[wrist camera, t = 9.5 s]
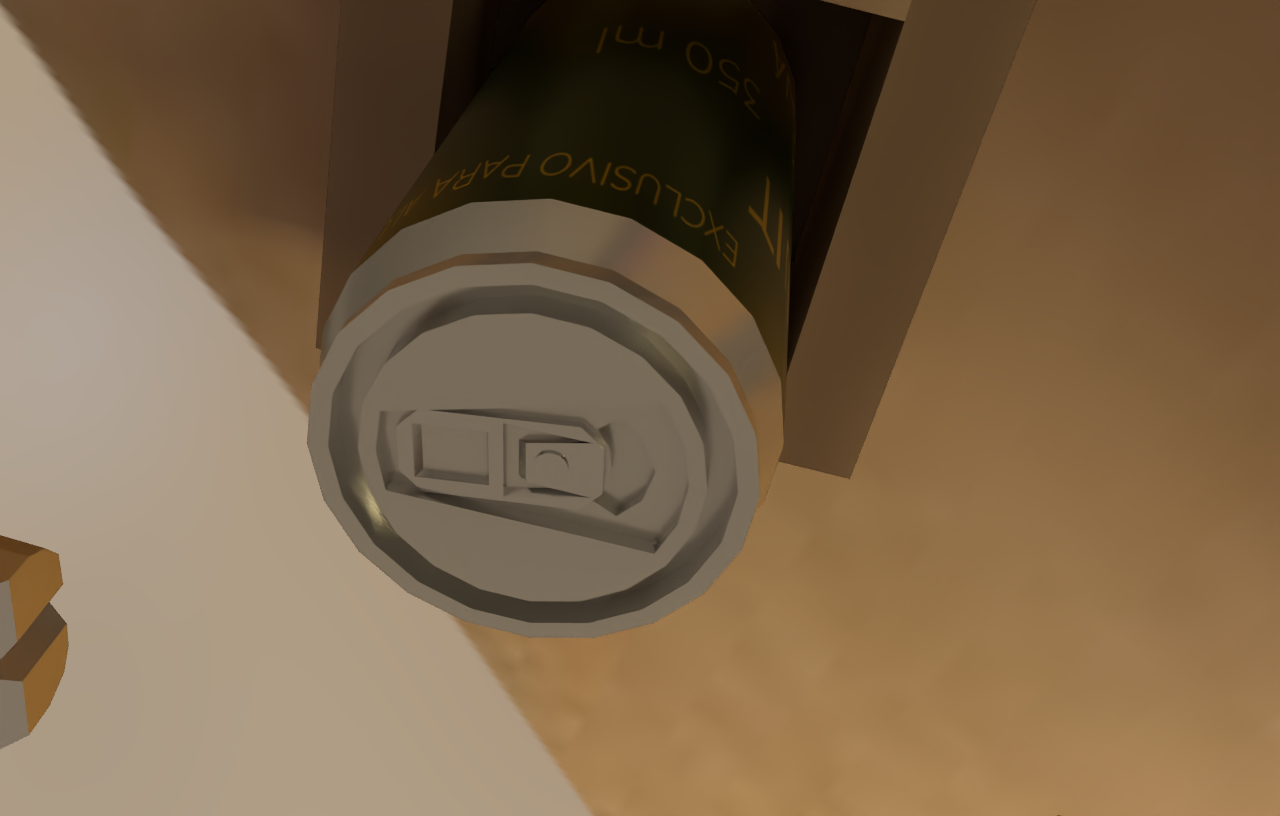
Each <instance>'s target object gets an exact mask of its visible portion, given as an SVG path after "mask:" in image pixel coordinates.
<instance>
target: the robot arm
mask: <svg viewBox="0 0 1280 816" xmlns="http://www.w3.org/2000/svg"><path fill="white" fill-rule="evenodd" d="M62 585H63V581H62V574H61V567H60V561H59V555H58V554H57V553H54V552H52V551H50V550H48V549H45V548H42V547H39V546H35V545H31V544H28V543H25V542H21V541H18V540H15V539H11V538H8V537H4V536H1V535H0V749H1V748H3V747H5V746H8V745H9V744H12V743H14V742H16V741H18V740H20V739H22V738H24V737H26V736H28V735H29V734H30V733H31V731H32V730H33V729H34V727H35V726H36V724H37V723H38V722H39V720H40V719H41V717H42V716H43V715H44V713H45V712H46V710H47V709H48V707H49V706H50V704H51V701H52V699H53V697H54V694H55V692H56V690H57V687H58V685H59V683H60V680H61V678H62V676H63V673H64V669H65V664H66V658H67V651H68V634H67V633H68V632H67V623H66V622H65V621H64V620H63V618H61V616H60V615H59V614H58V612H57V611H56V610H55V609H54V607H53V606H52V605H51V604H50V602H49V601H50V600H51V599H52V598H53V596H54V595H55V594H56V593H57V591H58V590H59V589H60V587H61V586H62ZM1058 816H1060V815H1058Z"/></svg>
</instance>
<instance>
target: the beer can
mask: <svg viewBox="0 0 1280 816" xmlns="http://www.w3.org/2000/svg"><path fill="white" fill-rule="evenodd" d="M795 138H796V111H795V82H794V77H793V75H792V72H791V69H790V67H789V64H788V61H787V59H786V56H785V53H784V51H783V48H782V45H781V43H780V40H779V37H778V35H777V34H776V33H775V31H774V30H773V29H772V28H771V27H770V25H769V24H768V23H767V22H766V20H765V19H764V18H763V17H762V15H761V14H760V13H759V12H758V10H757V9H756V8H755V7H754V6H753V4H752V3H751V2H750V1H749V0H547V1H546V2H545V3H544V4H542V5H541V6H540V7H539V8H538V9H537V10H536V11H535V12H534V13H533V14H532V15H531V17H530V18H529V20H528V21H527V22H526V24H525V25H524V27H523V28H522V30H521V31H520V33H519V34H518V35H517V37H516V38H515V40H514V41H513V43H512V44H511V45H510V47H509V48H508V50H507V51H506V53H505V54H504V55H503V57H502V58H501V60H500V61H499V63H498V64H497V65H496V67H495V68H494V70H493V71H492V73H491V74H490V75H489V77H488V78H487V80H486V81H485V83H484V84H483V85H482V87H481V88H480V90H479V91H478V93H477V94H476V95H475V97H474V98H473V100H472V101H471V103H470V104H469V106H468V107H467V108H466V110H465V111H464V113H463V114H462V116H461V117H460V118H459V120H458V121H457V123H456V124H455V126H454V127H453V128H452V130H451V131H450V133H449V134H448V136H447V137H446V138H445V140H444V141H443V143H442V144H441V146H440V147H439V148H438V150H437V151H436V153H435V154H434V156H433V157H432V158H431V160H430V161H429V163H428V164H427V166H426V167H425V168H424V170H423V171H422V173H421V174H420V176H419V177H418V179H417V180H416V181H415V183H414V184H413V186H412V187H411V189H410V190H409V191H408V193H407V194H406V196H405V197H404V199H403V200H402V201H401V203H400V204H399V206H398V207H397V209H396V210H395V211H394V213H393V214H392V216H391V217H390V219H389V220H388V221H387V223H386V224H385V226H384V227H383V229H382V230H381V231H380V233H379V234H378V236H377V237H376V239H375V240H374V242H373V243H372V244H371V246H370V247H369V249H368V250H367V252H366V253H365V254H364V256H363V257H362V259H361V260H360V262H359V263H358V264H357V266H356V267H355V269H354V270H353V272H352V273H351V275H350V277H349V279H348V281H347V283H346V285H345V287H344V289H343V291H342V293H341V295H340V297H339V299H338V301H337V303H336V305H335V307H334V308H333V310H332V312H331V314H330V316H329V318H328V320H327V322H326V324H325V326H324V328H323V330H322V343H321V356H320V369H319V372H318V374H317V375H316V377H315V379H314V381H313V383H312V385H311V397H310V410H309V424H308V437H307V445H308V448H309V451H310V455H311V458H312V462H313V465H314V469H315V472H316V475H317V478H318V482H319V485H320V489H321V492H322V495H323V498H324V501H325V502H326V504H327V505H328V507H329V508H330V510H331V511H332V512H333V514H334V516H335V517H336V518H337V520H338V521H339V523H340V524H341V526H342V527H343V529H344V530H345V532H346V533H347V535H348V536H349V537H350V539H351V540H352V542H353V543H354V545H355V546H356V548H357V549H358V551H359V552H361V553H362V554H363V555H364V556H365V557H366V558H367V559H369V560H370V561H371V562H372V563H373V564H375V565H376V566H377V567H378V568H379V569H380V570H382V571H383V572H384V573H385V574H386V575H387V576H389V577H390V578H391V579H392V580H393V581H395V582H396V583H397V584H398V585H399V586H400V587H402V588H403V589H404V590H405V591H406V592H408V593H409V594H411V595H413V596H415V597H418V598H419V599H422V600H423V601H425V602H428V603H429V604H431V605H433V606H435V607H437V608H439V609H441V610H443V611H445V612H447V613H449V614H451V615H453V616H455V617H457V618H459V619H461V620H463V621H465V622H469V623H473V624H477V625H481V626H485V627H489V628H493V629H497V630H501V631H506V632H510V633H514V634H518V635H522V636H526V637H554V638H595V637H599V636H603V635H607V634H611V633H615V632H619V631H623V630H627V629H631V628H635V627H639V626H643V625H647V624H652V623H654V622H656V621H658V620H659V619H661V618H663V617H665V616H666V615H668V614H670V613H671V612H673V611H675V610H677V609H678V608H680V607H682V606H683V605H685V604H687V603H689V602H690V601H692V600H694V599H695V598H697V597H699V596H701V595H702V594H704V593H705V592H706V591H707V590H708V588H709V587H710V586H711V585H712V584H713V583H714V581H715V580H716V579H717V578H718V577H719V576H720V574H721V573H722V572H723V571H724V570H725V569H726V567H727V566H728V565H729V564H730V563H731V562H732V560H733V559H734V558H735V557H736V556H737V555H738V553H739V552H740V551H741V550H742V547H743V544H744V541H745V538H746V535H747V532H748V529H749V526H750V524H751V521H752V518H753V515H754V513H755V512H756V511H757V509H758V508H759V507H760V506H761V505H762V503H763V502H764V500H765V497H766V494H767V492H768V489H769V486H770V483H771V480H772V477H773V474H774V471H775V469H776V466H777V463H778V460H779V457H780V454H781V451H782V448H783V446H784V428H785V401H786V375H787V349H788V322H789V296H790V270H791V243H792V217H793V191H794V164H795Z"/></svg>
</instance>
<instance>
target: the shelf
mask: <svg viewBox="0 0 1280 816" xmlns="http://www.w3.org/2000/svg"><path fill="white" fill-rule="evenodd" d="M499 1H500V0H341V11H340V25H339V39H338V52H337V66H336V80H335V93H334V107H333V121H332V134H331V148H330V162H329V175H328V189H327V203H326V216H325V230H324V244H323V257H322V271H321V285H320V298H319V312H318V326H317V339H316V348H318V349H321V343H322V330H323V328H324V326H325V324H326V322H327V320H328V318H329V316H330V314H331V312H332V310H333V308H334V307H335V305H336V303H337V301H338V299H339V297H340V295H341V293H342V291H343V289H344V287H345V285H346V283H347V281H348V279H349V277H350V275H351V273H352V272H353V270H354V269H355V267H356V266H357V264H358V263H359V262H360V260H361V259H362V257H363V256H364V254H365V253H366V252H367V250H368V249H369V247H370V246H371V244H372V243H373V242H374V240H375V239H376V237H377V236H378V234H379V233H380V231H381V230H382V229H383V227H384V226H385V224H386V223H387V221H388V220H389V219H390V217H391V216H392V214H393V213H394V211H395V210H396V209H397V207H398V206H399V204H400V203H401V201H402V200H403V199H404V197H405V196H406V194H407V193H408V191H409V190H410V189H411V187H412V186H413V184H414V183H415V181H416V180H417V179H418V177H419V176H420V174H421V173H422V171H423V170H424V168H425V167H426V166H427V164H428V163H429V161H430V160H431V158H432V157H433V156H434V154H435V153H436V151H437V150H438V148H439V147H440V146H441V144H442V143H443V141H444V140H445V138H446V137H447V136H448V134H449V133H450V131H451V130H452V128H453V127H454V126H455V124H456V123H457V121H458V120H459V118H460V117H461V116H462V114H463V113H464V111H465V110H466V108H467V107H468V106H469V104H470V103H471V101H472V100H473V98H474V97H475V95H476V94H477V93H478V91H479V90H480V88H481V87H482V85H483V84H484V83H485V81H486V80H487V78H488V77H489V70H490V63H491V56H492V49H493V43H494V36H495V29H496V22H497V15H498V8H499ZM822 1H826V2H830V3H834V4H838V5H842V6H846V7H850V8H854V9H858V10H861V11H865V12H869V13H873V14H872V17H871V20H870V24H869V27H868V30H867V33H866V36H865V39H864V43H863V46H862V49H861V52H860V55H859V58H858V61H857V65H856V68H855V71H854V74H853V77H852V80H851V83H850V87H849V90H848V93H847V96H846V99H845V102H844V106H843V109H842V112H841V115H840V118H839V121H838V124H837V128H836V131H835V134H834V137H833V140H832V143H831V146H830V150H829V153H828V156H827V159H826V162H825V165H824V168H823V172H822V175H821V178H820V181H819V184H818V187H817V191H816V194H815V197H814V200H813V203H812V206H811V209H810V213H809V216H808V219H807V222H806V225H805V228H804V231H803V235H802V238H801V241H800V244H799V247H798V250H797V254H796V257H795V260H794V263H793V266H792V269H791V272H790V296H789V322H788V349H787V375H786V401H785V428H784V446H783V448H782V451H781V454H780V457H779V460H778V461H779V462H783V463H787V464H791V465H795V466H799V467H804V468H808V469H812V470H816V471H820V472H824V473H828V474H832V475H836V476H840V477H844V478H848V479H850V477H851V474H852V472H853V469H854V467H855V464H856V462H857V459H858V457H859V454H860V451H861V449H862V446H863V444H864V441H865V439H866V436H867V434H868V431H869V428H870V426H871V423H872V421H873V418H874V416H875V413H876V410H877V408H878V405H879V403H880V400H881V398H882V395H883V393H884V390H885V387H886V385H887V382H888V380H889V377H890V375H891V372H892V369H893V367H894V364H895V362H896V359H897V357H898V354H899V352H900V349H901V346H902V344H903V341H904V339H905V336H906V334H907V331H908V328H909V326H910V323H911V321H912V318H913V316H914V313H915V311H916V308H917V305H918V303H919V300H920V298H921V295H922V293H923V290H924V288H925V285H926V282H927V280H928V277H929V275H930V272H931V270H932V267H933V264H934V262H935V259H936V257H937V254H938V252H939V249H940V247H941V244H942V241H943V239H944V236H945V234H946V231H947V229H948V226H949V223H950V221H951V218H952V216H953V213H954V211H955V208H956V206H957V203H958V200H959V198H960V195H961V193H962V190H963V188H964V185H965V183H966V180H967V177H968V175H969V172H970V170H971V167H972V165H973V162H974V159H975V157H976V154H977V152H978V149H979V147H980V144H981V142H982V139H983V136H984V134H985V131H986V129H987V126H988V124H989V121H990V118H991V116H992V113H993V111H994V108H995V106H996V103H997V101H998V98H999V95H1000V93H1001V90H1002V88H1003V85H1004V83H1005V80H1006V77H1007V75H1008V72H1009V70H1010V67H1011V65H1012V62H1013V60H1014V57H1015V54H1016V52H1017V49H1018V47H1019V44H1020V42H1021V39H1022V37H1023V34H1024V31H1025V29H1026V26H1027V24H1028V21H1029V19H1030V16H1031V13H1032V11H1033V8H1034V6H1035V3H1036V1H1037V0H822Z"/></svg>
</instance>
